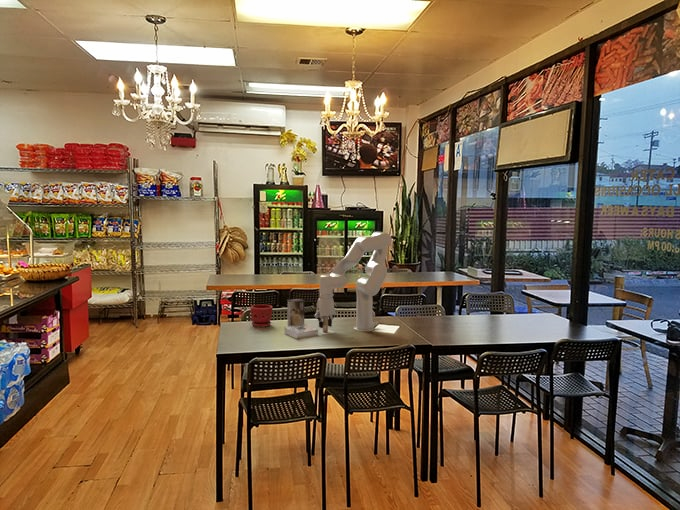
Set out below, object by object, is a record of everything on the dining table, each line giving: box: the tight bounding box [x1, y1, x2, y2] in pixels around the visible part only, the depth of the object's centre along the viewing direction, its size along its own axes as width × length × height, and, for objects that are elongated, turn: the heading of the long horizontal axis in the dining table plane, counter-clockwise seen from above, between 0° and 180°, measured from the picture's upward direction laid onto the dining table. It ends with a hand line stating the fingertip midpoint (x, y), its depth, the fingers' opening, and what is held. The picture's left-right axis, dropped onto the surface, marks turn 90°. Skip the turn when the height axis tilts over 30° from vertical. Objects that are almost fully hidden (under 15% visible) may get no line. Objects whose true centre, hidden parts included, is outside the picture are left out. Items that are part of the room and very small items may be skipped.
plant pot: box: [250, 304, 273, 328], centre depth 286 cm, size 13×13×12 cm
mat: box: [318, 328, 336, 336], centre depth 274 cm, size 10×10×1 cm
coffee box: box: [287, 298, 305, 327], centre depth 286 cm, size 9×6×16 cm
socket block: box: [283, 323, 319, 340], centre depth 268 cm, size 14×14×4 cm
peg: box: [322, 316, 329, 333], centre depth 273 cm, size 3×3×10 cm
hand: (325, 326), depth 273 cm, fingers open, 5 cm apart
